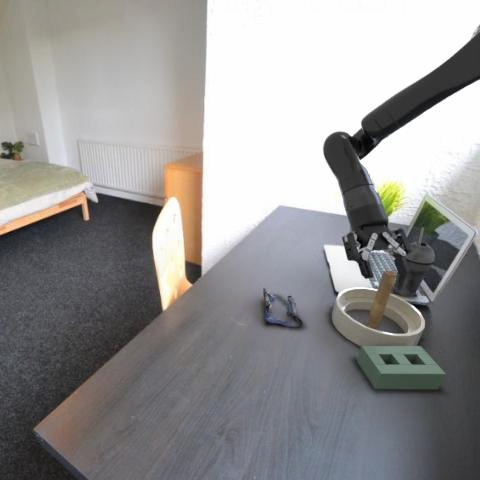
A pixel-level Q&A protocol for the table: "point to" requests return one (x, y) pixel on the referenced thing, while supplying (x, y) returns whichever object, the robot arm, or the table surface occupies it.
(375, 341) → the cream ring
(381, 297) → the stirring stick
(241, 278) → the table surface
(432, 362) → the stick stand
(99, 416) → the table surface
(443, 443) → the table surface
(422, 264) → the beverage cup
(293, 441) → the table surface
